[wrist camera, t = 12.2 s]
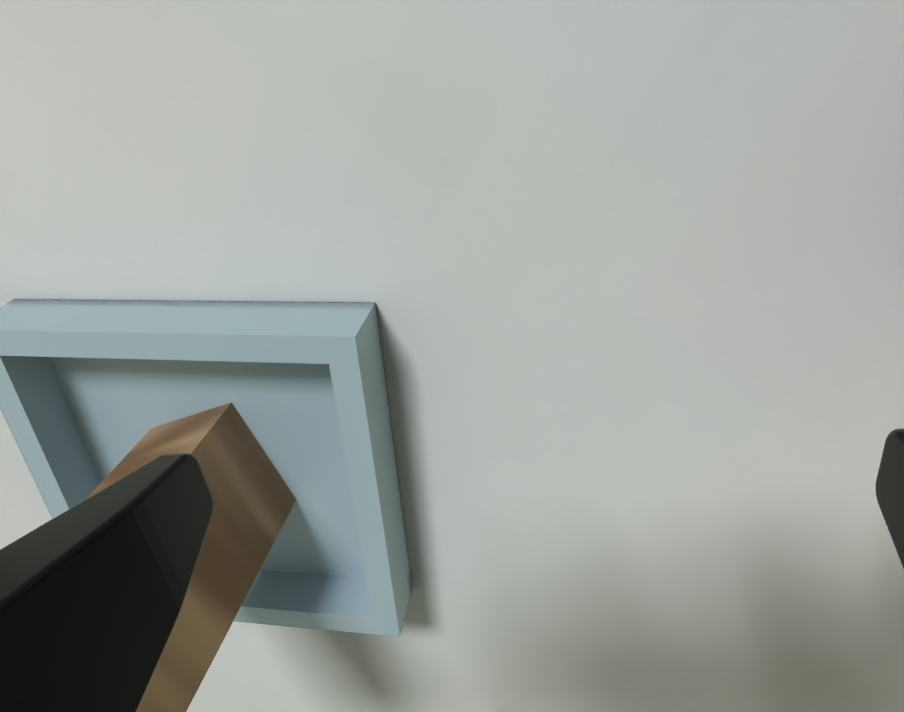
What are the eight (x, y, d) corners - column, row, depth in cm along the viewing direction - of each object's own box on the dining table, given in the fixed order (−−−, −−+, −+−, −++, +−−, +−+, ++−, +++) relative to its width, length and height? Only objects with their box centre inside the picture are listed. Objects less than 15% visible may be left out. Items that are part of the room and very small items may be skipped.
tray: (375, 302, 23) (354, 337, 21) (412, 588, 30) (399, 636, 27) (14, 299, 25) (-38, 329, 23) (126, 565, 32) (94, 608, 30)
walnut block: (231, 402, 25) (-38, 742, 14) (296, 499, 27) (106, 864, 16) (151, 428, 26) (-154, 758, 15) (219, 519, 28) (-7, 869, 17)
